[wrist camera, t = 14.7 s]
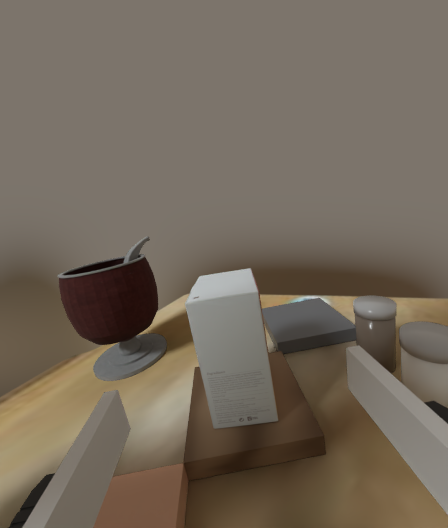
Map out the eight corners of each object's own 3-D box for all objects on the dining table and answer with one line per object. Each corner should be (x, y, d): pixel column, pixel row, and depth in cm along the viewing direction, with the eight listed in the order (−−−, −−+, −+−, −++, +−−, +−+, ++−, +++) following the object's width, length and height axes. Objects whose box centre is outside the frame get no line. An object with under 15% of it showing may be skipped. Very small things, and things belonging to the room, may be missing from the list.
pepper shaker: (371, 377, 26) (368, 313, 24) (349, 355, 30) (346, 299, 28) (406, 370, 26) (406, 306, 24) (379, 349, 30) (378, 293, 28)
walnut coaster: (188, 480, 19) (183, 462, 19) (198, 379, 31) (195, 367, 30) (325, 454, 19) (323, 435, 19) (282, 363, 31) (281, 350, 30)
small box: (280, 423, 20) (260, 290, 18) (212, 431, 21) (182, 303, 18) (266, 364, 28) (251, 266, 25) (217, 371, 29) (197, 275, 26)
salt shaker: (436, 439, 19) (439, 357, 17) (389, 400, 23) (387, 330, 21) (473, 419, 19) (481, 339, 17) (422, 385, 23) (423, 316, 21)
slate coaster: (278, 354, 33) (277, 342, 32) (261, 318, 44) (260, 309, 44) (358, 339, 33) (357, 327, 32) (320, 307, 45) (319, 297, 44)
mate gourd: (104, 399, 30) (54, 258, 26) (79, 364, 40) (40, 257, 36) (193, 341, 41) (167, 233, 36) (156, 324, 51) (132, 238, 46)
